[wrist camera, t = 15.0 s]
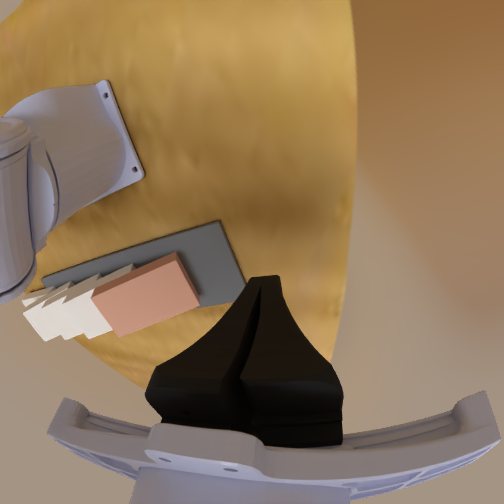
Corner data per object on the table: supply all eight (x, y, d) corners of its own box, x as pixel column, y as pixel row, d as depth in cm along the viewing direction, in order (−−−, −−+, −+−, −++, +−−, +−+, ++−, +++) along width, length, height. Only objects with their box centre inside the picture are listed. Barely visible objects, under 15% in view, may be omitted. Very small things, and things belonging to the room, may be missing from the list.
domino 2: (71, 280, 28) (27, 305, 27) (67, 287, 26) (22, 313, 25) (93, 312, 30) (48, 333, 29) (90, 320, 29) (45, 341, 28)
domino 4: (132, 262, 25) (66, 295, 25) (130, 271, 24) (61, 304, 23) (156, 302, 28) (92, 329, 27) (155, 312, 26) (88, 339, 25)
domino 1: (54, 285, 29) (27, 293, 31) (46, 294, 27) (21, 300, 30) (74, 315, 31) (45, 318, 34) (68, 324, 30) (39, 326, 32)
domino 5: (175, 251, 24) (94, 288, 23) (175, 260, 22) (90, 298, 22) (198, 295, 26) (121, 326, 26) (200, 305, 25) (119, 337, 24)
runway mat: (42, 277, 29) (40, 279, 29) (219, 220, 22) (218, 222, 22) (73, 322, 33) (72, 324, 33) (251, 295, 26) (250, 298, 26)
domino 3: (99, 272, 27) (46, 300, 26) (95, 280, 25) (40, 308, 24) (122, 308, 29) (69, 331, 28) (120, 317, 27) (65, 340, 27)
